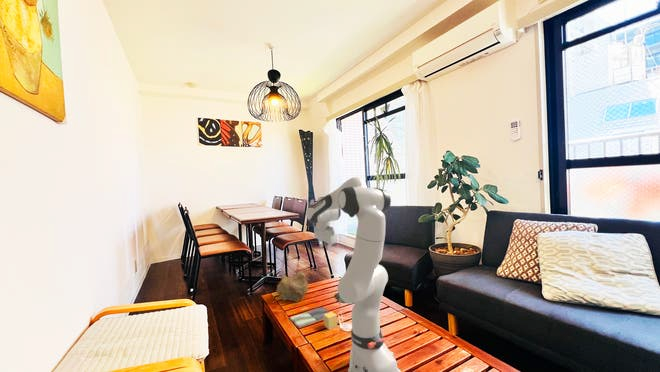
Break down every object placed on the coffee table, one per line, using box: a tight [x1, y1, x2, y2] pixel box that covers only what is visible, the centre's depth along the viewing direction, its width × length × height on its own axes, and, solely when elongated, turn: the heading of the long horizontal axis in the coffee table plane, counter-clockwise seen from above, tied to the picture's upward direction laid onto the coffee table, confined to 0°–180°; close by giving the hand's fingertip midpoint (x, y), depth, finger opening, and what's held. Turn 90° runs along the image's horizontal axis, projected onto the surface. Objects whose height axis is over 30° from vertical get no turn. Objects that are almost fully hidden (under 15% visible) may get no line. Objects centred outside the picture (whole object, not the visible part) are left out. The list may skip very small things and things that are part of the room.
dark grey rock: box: [333, 292, 347, 304], centre depth 175 cm, size 19×4×15 cm
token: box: [323, 311, 338, 331], centre depth 139 cm, size 5×5×6 cm
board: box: [289, 306, 330, 329], centre depth 149 cm, size 12×21×1 cm, turn 122°
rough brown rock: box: [275, 271, 309, 303], centre depth 175 cm, size 23×17×15 cm
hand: (325, 248), depth 155 cm, fingers open, 8 cm apart
